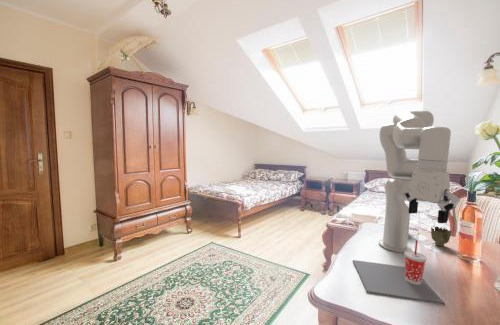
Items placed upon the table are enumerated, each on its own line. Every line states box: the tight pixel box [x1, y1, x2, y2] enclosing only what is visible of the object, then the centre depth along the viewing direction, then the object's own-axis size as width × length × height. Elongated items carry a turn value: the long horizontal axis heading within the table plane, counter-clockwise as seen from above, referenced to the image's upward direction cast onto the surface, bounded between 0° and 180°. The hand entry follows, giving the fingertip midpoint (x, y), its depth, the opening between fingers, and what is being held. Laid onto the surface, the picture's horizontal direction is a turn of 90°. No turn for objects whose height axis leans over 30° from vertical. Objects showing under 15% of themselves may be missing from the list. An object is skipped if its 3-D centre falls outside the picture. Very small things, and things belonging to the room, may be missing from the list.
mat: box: [352, 259, 445, 306], centre depth 80 cm, size 20×21×1 cm
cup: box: [430, 226, 452, 248], centre depth 110 cm, size 8×7×8 cm
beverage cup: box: [403, 239, 428, 285], centre depth 78 cm, size 6×6×14 cm
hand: (426, 217), depth 76 cm, fingers open, 9 cm apart
